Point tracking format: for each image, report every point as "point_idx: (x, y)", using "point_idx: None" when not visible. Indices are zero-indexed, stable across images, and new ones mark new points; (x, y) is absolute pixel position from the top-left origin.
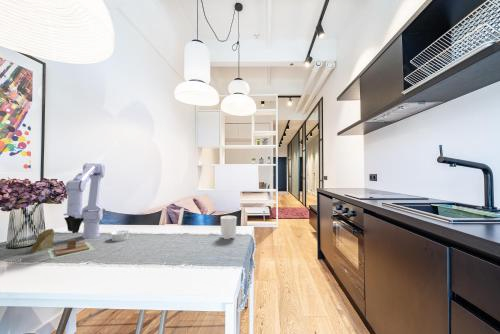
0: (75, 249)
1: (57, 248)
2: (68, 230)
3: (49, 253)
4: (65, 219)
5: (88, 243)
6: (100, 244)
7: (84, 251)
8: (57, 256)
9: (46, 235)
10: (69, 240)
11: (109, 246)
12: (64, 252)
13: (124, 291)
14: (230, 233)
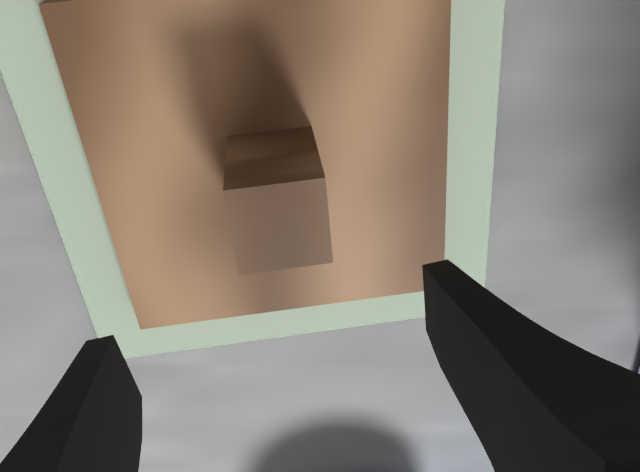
0: (166, 209)
1: (392, 10)
2: (432, 270)
3: None
4: (617, 426)
5: (415, 314)
6: (308, 395)
7: (87, 278)
8: (39, 9)
9: None
10: (264, 202)
11: (169, 452)
12: (98, 96)
13: None
14: None
